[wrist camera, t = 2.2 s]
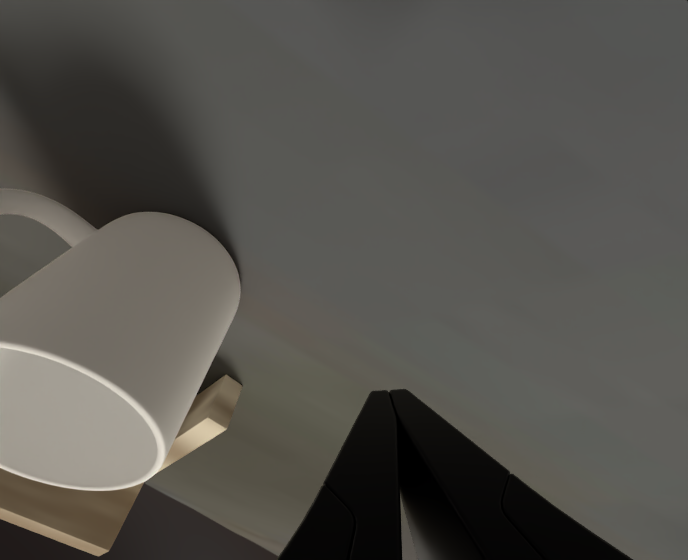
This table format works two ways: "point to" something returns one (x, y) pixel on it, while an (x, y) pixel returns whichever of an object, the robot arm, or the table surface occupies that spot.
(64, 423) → the cup
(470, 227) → the table surface
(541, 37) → the table surface
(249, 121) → the table surface
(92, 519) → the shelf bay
